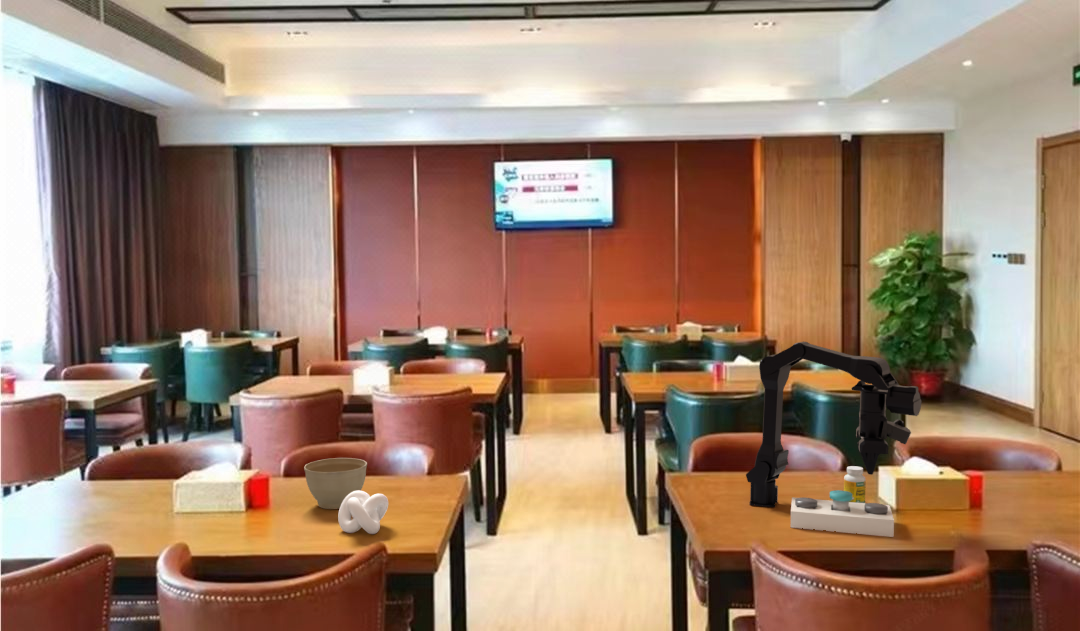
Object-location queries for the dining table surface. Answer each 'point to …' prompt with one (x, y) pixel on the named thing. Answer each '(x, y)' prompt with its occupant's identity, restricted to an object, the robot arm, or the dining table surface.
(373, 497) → the white knot sculpture
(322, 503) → the planter bowl
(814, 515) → the knob mount
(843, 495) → the middle knob
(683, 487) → the dining table surface
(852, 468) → the supplement bottle
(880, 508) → the knob
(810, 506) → the knob
